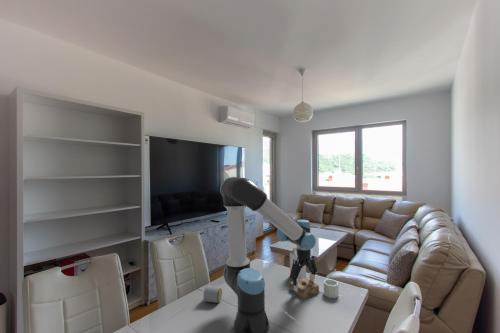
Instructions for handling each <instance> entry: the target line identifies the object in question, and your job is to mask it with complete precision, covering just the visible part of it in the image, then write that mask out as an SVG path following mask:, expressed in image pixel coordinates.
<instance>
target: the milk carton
mask: <svg viewBox="0 0 500 333" xmlns="http://www.w3.org/2000/svg"><path fill="white" fill-rule="evenodd" d="M297 258H298V256H297V246H296V247H293V248H292V250H291V251H290V252H289V274H290V273H291V269H292V265H293V259H294V260H296V259H297ZM299 265H300V264H299ZM300 266H301V265H300ZM301 278H306V279H307V265H305V266H303V267H302V268H301V270H300V273H299V275H298V278H297V279H301Z"/></svg>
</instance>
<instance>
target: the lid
mask: <svg viewBox="0 0 500 333" xmlns="http://www.w3.org/2000/svg"><path fill="white" fill-rule="evenodd" d="M319 287H320V286H319V284H317V283H316V282H315V281H314V282H312V281H310V279H308V278H307V277H306V278H301V279H298V292H296V291H295V290H294V285H293V280H292V281H290V282H289V288H290V290H292V291H293V292H295V293H296V294H298V295H299V296H301V297H302V298H306V297H309V296H311V295H314V294H317V293H319V291H320V290H319V289H320V288H319Z"/></svg>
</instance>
